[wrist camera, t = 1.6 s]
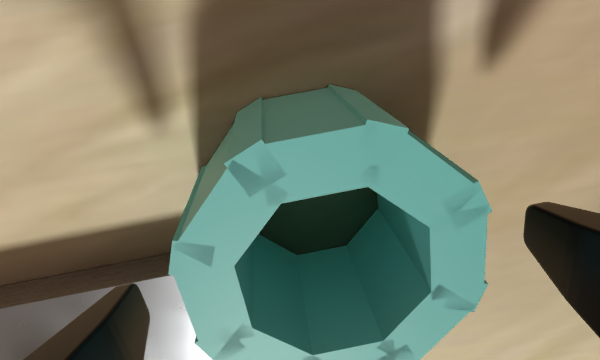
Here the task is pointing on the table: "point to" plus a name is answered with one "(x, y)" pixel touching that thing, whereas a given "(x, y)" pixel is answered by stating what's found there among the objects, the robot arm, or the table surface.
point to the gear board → (84, 293)
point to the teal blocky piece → (336, 261)
